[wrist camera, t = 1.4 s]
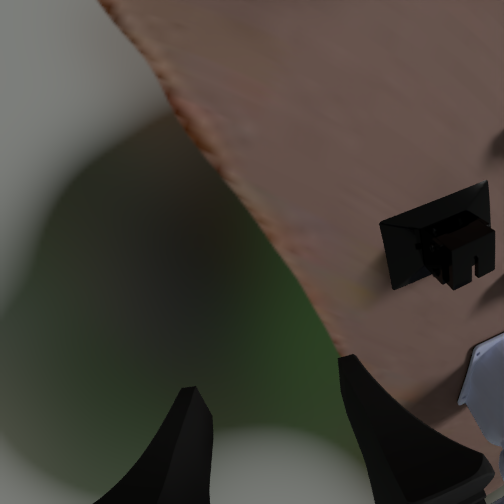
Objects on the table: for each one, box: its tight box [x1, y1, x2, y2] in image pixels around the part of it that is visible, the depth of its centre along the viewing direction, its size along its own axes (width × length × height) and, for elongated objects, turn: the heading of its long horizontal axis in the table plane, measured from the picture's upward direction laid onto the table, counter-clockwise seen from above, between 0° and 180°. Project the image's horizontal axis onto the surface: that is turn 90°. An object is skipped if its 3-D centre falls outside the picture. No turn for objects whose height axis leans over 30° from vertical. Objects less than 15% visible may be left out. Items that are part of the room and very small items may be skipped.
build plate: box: [379, 180, 495, 290], centre depth 18 cm, size 12×7×5 cm, turn 111°
